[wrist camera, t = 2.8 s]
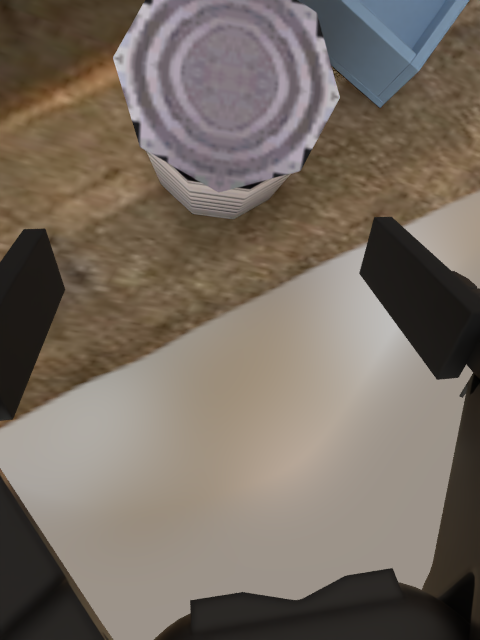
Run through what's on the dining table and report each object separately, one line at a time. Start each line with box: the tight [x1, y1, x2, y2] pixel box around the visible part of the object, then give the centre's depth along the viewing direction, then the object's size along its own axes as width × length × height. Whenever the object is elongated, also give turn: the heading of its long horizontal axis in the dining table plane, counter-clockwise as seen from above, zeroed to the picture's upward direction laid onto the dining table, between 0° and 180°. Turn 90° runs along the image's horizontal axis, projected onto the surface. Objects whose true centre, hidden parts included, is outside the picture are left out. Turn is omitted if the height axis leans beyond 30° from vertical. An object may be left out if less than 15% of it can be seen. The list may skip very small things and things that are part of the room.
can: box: [113, 0, 340, 219], centre depth 25 cm, size 11×11×12 cm
